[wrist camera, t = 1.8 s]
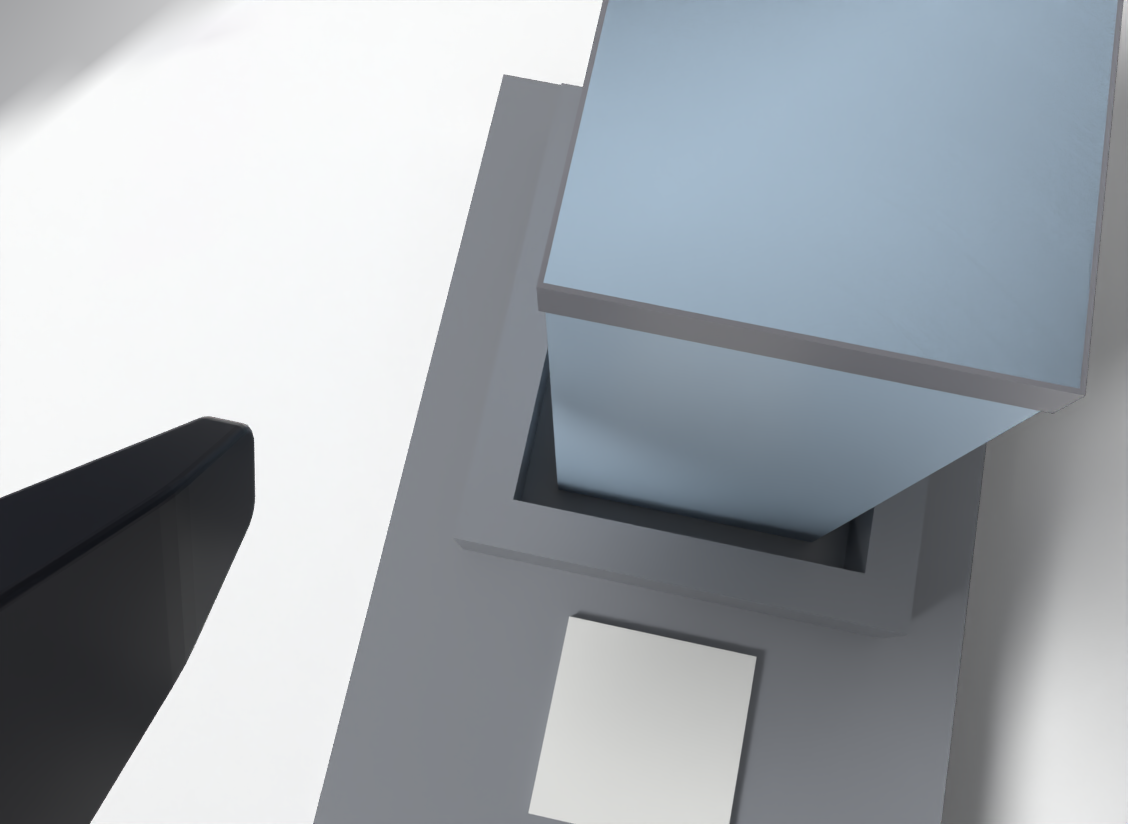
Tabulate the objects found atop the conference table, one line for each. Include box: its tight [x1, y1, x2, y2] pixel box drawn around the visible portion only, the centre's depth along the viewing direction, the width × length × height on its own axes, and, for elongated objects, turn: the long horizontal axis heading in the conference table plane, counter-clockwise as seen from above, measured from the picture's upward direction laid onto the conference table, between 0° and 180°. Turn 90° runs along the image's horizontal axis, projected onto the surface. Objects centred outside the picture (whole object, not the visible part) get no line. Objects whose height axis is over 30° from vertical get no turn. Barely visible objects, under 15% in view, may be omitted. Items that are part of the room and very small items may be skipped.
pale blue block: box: [536, 0, 1123, 542], centre depth 14 cm, size 5×6×10 cm
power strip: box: [313, 75, 987, 824], centre depth 18 cm, size 20×10×4 cm, turn 168°
